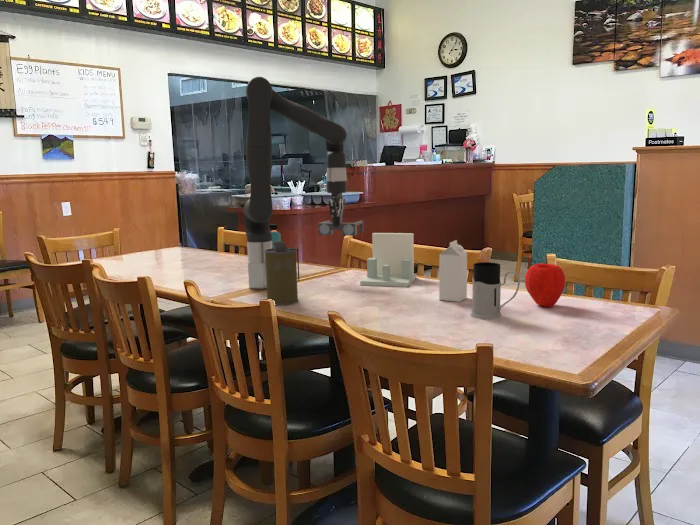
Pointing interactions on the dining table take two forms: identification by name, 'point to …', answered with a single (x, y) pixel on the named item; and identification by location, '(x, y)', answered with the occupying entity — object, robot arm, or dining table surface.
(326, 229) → the spectacles
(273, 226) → the beverage bottle
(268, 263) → the canister
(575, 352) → the dining table surface
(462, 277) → the milk carton
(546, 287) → the apple
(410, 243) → the display stand
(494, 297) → the glass holder
